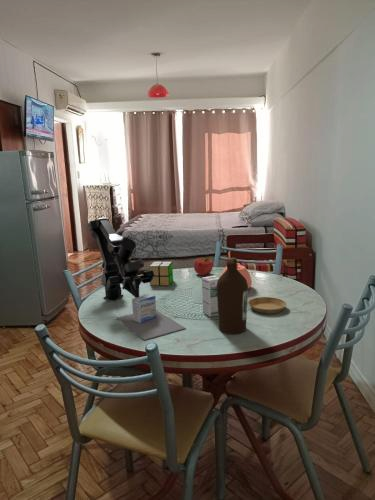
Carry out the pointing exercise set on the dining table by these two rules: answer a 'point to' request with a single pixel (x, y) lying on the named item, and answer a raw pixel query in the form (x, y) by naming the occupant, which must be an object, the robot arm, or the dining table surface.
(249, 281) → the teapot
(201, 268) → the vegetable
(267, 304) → the plant saucer
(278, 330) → the dining table surface
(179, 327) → the rubber mat
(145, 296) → the medicine box
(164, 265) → the puzzle cube
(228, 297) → the olive oil
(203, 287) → the syrup box
